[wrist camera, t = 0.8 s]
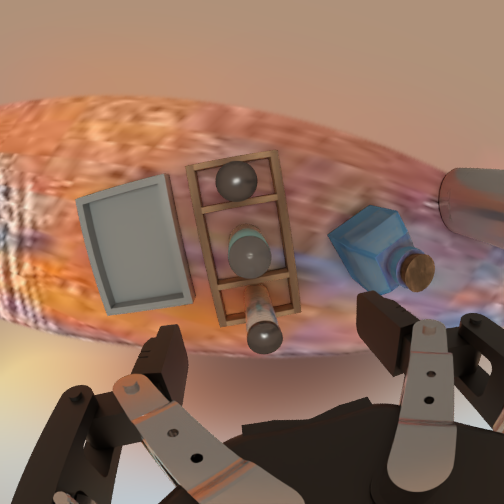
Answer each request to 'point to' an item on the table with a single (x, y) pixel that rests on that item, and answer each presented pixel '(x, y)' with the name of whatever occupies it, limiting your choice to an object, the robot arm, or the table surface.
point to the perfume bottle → (381, 252)
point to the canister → (261, 320)
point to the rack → (278, 196)
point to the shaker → (248, 252)
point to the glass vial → (236, 181)
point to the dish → (136, 246)
